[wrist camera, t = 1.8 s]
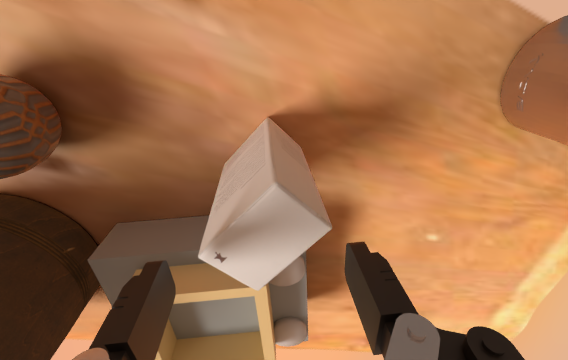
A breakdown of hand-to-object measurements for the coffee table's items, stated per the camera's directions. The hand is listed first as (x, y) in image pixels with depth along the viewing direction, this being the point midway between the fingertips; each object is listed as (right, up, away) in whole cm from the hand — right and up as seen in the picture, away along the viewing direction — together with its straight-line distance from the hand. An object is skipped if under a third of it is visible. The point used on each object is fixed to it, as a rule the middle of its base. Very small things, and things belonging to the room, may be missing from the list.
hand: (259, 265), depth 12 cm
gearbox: (-6, -6, +18) cm, 20 cm away
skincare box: (-1, +6, +12) cm, 14 cm away
